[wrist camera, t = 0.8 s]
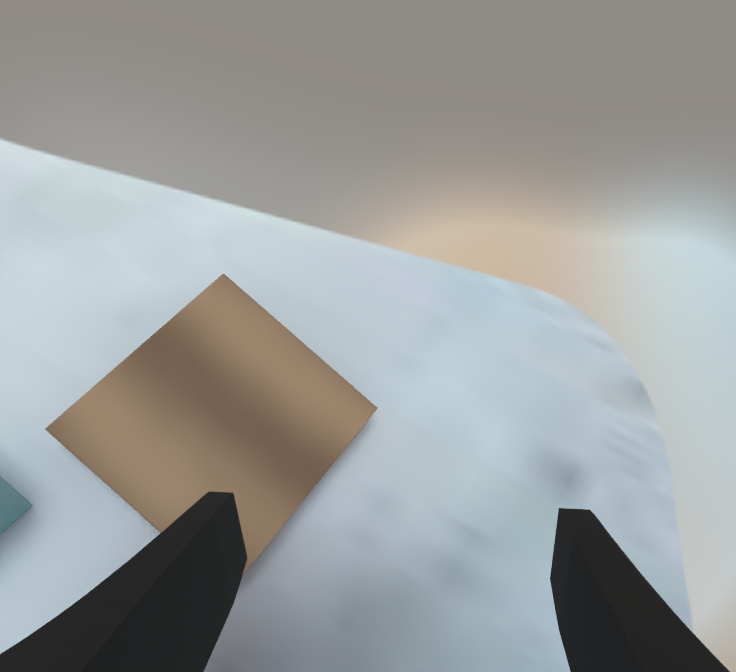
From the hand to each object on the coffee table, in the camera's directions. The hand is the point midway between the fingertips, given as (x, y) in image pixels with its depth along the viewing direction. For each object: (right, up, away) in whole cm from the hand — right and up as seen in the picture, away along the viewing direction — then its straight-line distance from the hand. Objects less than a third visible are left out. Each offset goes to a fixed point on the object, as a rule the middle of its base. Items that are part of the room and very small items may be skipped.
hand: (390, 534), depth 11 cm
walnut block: (-8, 0, +14) cm, 16 cm away
